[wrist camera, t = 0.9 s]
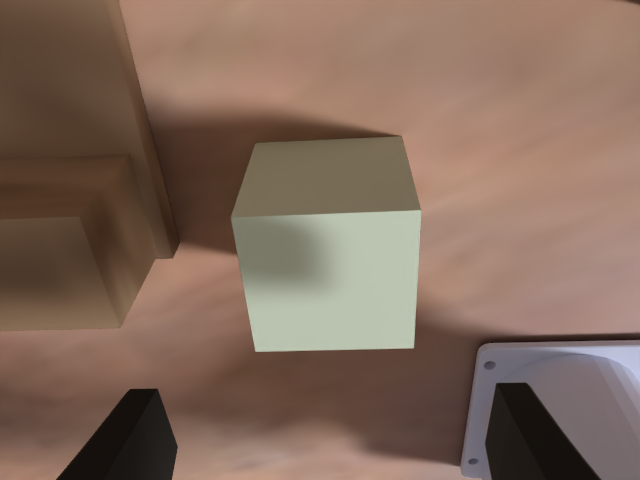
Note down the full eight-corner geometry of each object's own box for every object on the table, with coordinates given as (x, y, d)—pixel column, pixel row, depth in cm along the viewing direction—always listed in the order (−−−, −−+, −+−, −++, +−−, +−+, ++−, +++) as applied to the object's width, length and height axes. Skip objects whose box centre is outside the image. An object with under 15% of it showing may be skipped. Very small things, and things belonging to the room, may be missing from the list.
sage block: (398, 255, 20) (414, 348, 16) (272, 259, 21) (255, 351, 17) (401, 135, 18) (421, 210, 13) (255, 141, 18) (230, 217, 14)
